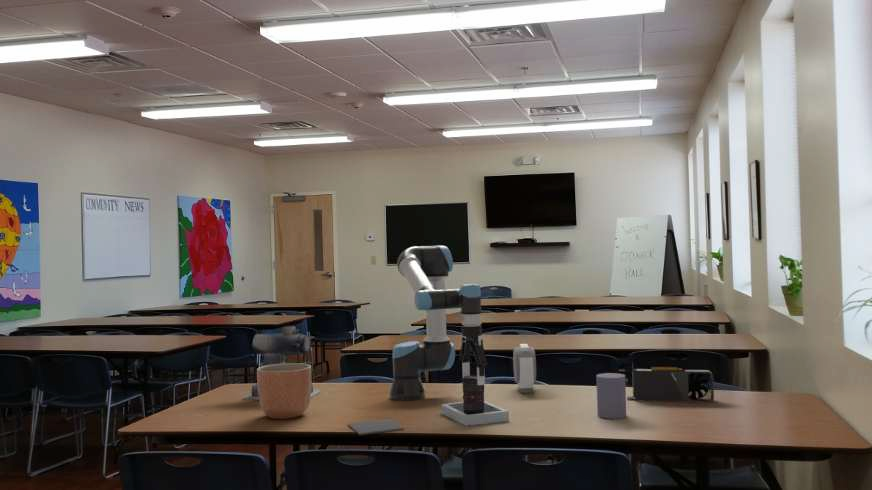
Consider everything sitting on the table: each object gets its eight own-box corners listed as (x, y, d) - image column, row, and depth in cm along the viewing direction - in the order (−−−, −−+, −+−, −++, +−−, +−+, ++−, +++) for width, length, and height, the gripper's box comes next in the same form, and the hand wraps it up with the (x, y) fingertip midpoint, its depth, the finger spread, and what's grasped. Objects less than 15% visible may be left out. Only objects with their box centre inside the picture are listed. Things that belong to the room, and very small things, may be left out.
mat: (347, 425, 273) (347, 423, 273) (389, 420, 278) (389, 418, 278) (359, 435, 258) (359, 433, 258) (403, 429, 263) (403, 427, 263)
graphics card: (627, 400, 301) (626, 365, 301) (627, 398, 306) (626, 363, 306) (714, 403, 293) (713, 366, 293) (712, 401, 298) (712, 365, 298)
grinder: (258, 391, 346) (256, 325, 346) (322, 392, 340) (320, 324, 340) (240, 399, 327) (238, 329, 328) (308, 400, 322) (306, 328, 322)
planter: (253, 414, 297) (252, 366, 297) (305, 408, 305) (304, 361, 305) (263, 424, 278) (262, 373, 278) (318, 418, 286) (316, 368, 286)
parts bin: (441, 413, 288) (441, 404, 288) (482, 408, 294) (482, 399, 294) (465, 426, 266) (465, 416, 266) (509, 420, 272) (508, 411, 272)
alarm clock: (537, 393, 320) (535, 346, 320) (517, 394, 320) (516, 347, 320) (532, 386, 338) (531, 341, 338) (513, 386, 338) (512, 342, 338)
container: (610, 420, 268) (609, 379, 268) (591, 415, 277) (590, 375, 277) (632, 417, 272) (631, 375, 273) (613, 412, 282) (612, 372, 282)
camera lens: (483, 419, 275) (482, 378, 275) (461, 419, 277) (460, 378, 277) (486, 414, 283) (485, 375, 283) (465, 414, 285) (464, 375, 285)
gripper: (449, 323, 290) (451, 378, 290) (476, 328, 267) (478, 388, 267) (467, 322, 293) (469, 376, 293) (495, 327, 270) (497, 386, 269)
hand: (473, 382), depth 280 cm, fingers open, 13 cm apart
